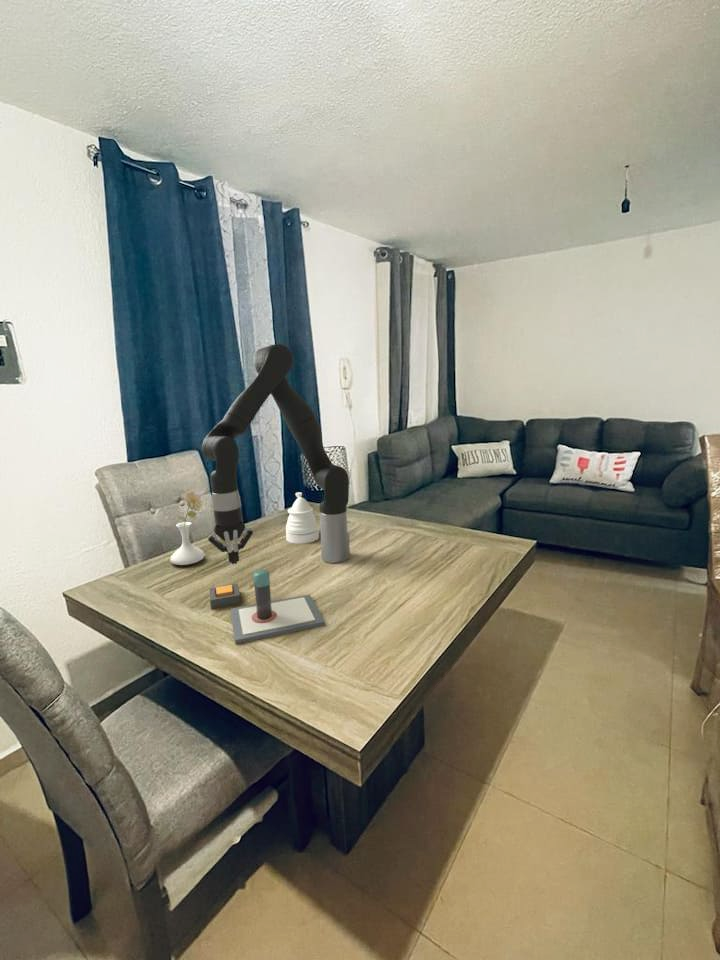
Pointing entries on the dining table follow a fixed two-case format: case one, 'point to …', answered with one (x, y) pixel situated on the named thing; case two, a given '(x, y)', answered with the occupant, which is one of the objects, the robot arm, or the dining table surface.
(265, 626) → the drawing board
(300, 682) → the dining table surface
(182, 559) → the flower in vase
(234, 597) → the button housing
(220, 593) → the button
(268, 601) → the marker
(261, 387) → the robot arm
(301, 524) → the honey pot
